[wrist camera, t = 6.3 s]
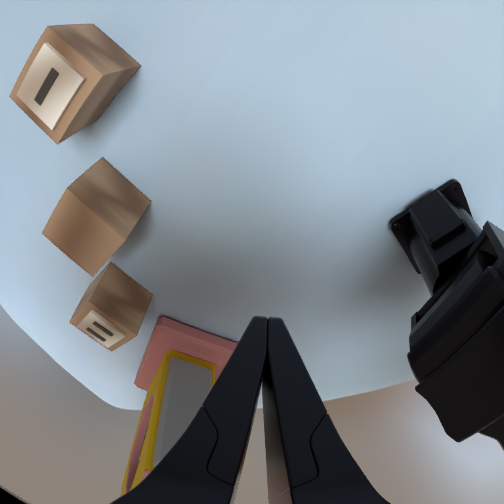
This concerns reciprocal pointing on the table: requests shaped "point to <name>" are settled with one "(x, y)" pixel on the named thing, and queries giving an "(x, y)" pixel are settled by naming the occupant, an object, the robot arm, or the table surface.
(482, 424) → the robot arm
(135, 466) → the pink yellow upright block
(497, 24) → the table surface
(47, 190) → the table surface
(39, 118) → the numbered block
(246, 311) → the table surface
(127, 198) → the plain block
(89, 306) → the numbered block
